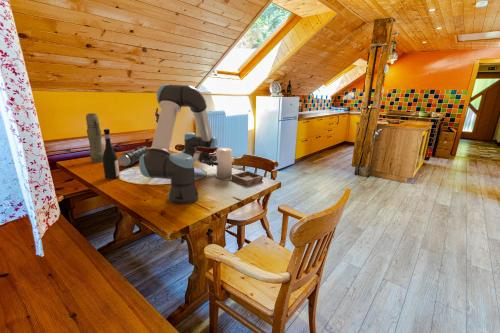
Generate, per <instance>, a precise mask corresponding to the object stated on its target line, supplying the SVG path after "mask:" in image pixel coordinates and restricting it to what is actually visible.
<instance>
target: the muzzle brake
mask: <svg viewBox="0 0 500 333" xmlns="http://www.w3.org/2000/svg"><path fill="white" fill-rule="evenodd" d="M148 149H149V147H147V146H146V145H142V146H140V147H137V148H134V149H132V150H129V151H127V152H126V151H125V152H122V153H121V154H120V156H119V157H118V164H120V165H121V166H123V167H131V166H133V165H134V164H135V163H139V160H140V157H141V156H142V155H143V154H146V153H147V150H148Z"/></svg>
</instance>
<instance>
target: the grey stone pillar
mask: <svg viewBox="0 0 500 333" xmlns="http://www.w3.org/2000/svg"><path fill="white" fill-rule="evenodd" d="M85 116H86V117H85V120H86V121H85V122H86V125H87V126H86V128H87V130H86V134H87V135H86V136H87V140H88V142H89V156H90V160H91V161H90V162H91V163H96V164H98V163H103V155H104V149H103V142H102V138H103V137H102V135H103V134H102V130H101V129H100V121H99V116H98V115H97V113H93V112H92V113H87V114H86V115H85Z"/></svg>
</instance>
